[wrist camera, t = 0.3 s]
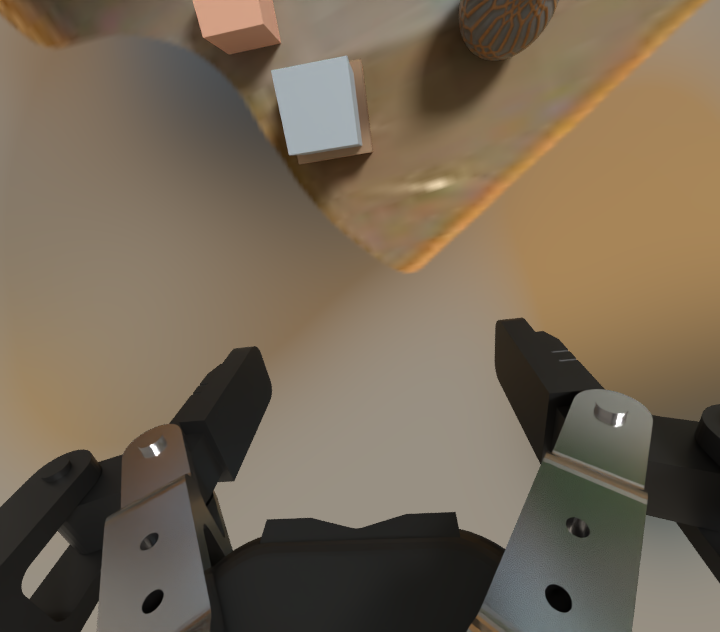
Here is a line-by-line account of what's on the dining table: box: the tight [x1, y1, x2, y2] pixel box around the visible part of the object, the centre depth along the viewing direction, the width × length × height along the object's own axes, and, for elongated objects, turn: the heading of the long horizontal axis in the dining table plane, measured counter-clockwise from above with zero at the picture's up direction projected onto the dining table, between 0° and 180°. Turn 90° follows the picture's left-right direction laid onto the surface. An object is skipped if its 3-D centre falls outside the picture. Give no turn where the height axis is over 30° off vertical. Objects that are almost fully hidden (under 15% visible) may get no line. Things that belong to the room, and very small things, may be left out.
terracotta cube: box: [193, 0, 281, 55], centre depth 27 cm, size 5×5×5 cm
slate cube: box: [271, 56, 362, 155], centre depth 27 cm, size 6×6×6 cm
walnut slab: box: [297, 59, 373, 164], centre depth 31 cm, size 7×7×4 cm
